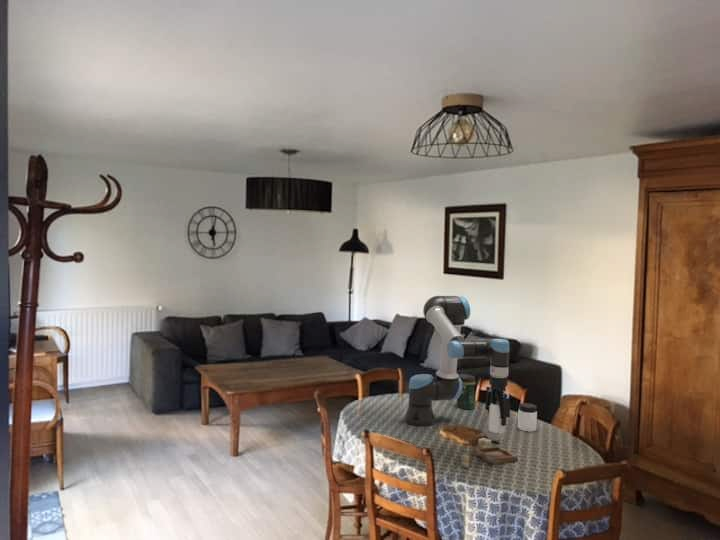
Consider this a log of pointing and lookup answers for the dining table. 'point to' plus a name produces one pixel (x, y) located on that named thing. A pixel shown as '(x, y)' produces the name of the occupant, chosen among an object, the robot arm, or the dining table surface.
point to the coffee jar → (467, 392)
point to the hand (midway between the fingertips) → (496, 430)
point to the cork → (465, 460)
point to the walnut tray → (495, 455)
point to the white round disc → (491, 435)
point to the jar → (527, 417)
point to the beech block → (484, 443)
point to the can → (494, 418)
